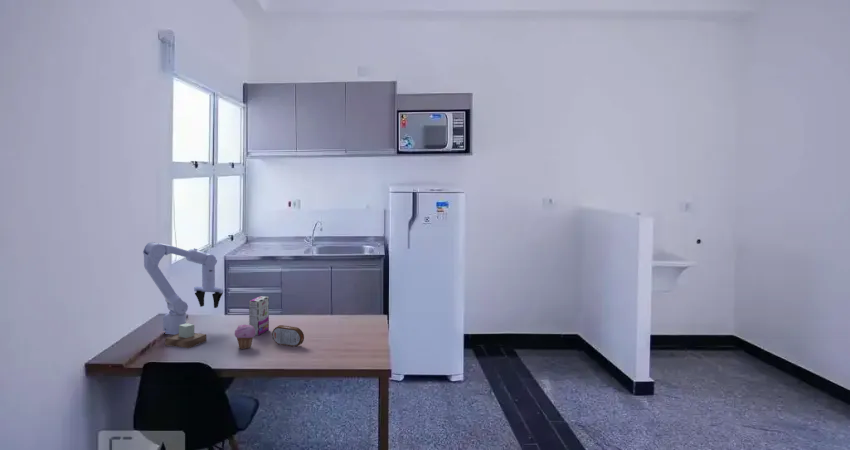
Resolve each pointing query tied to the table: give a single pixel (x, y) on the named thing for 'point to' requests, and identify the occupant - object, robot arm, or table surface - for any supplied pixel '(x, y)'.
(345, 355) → the table surface
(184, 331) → the sage block
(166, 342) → the brown flat block
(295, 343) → the tin
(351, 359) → the table surface
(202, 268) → the robot arm
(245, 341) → the cupcake
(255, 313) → the candy bar box
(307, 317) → the table surface
